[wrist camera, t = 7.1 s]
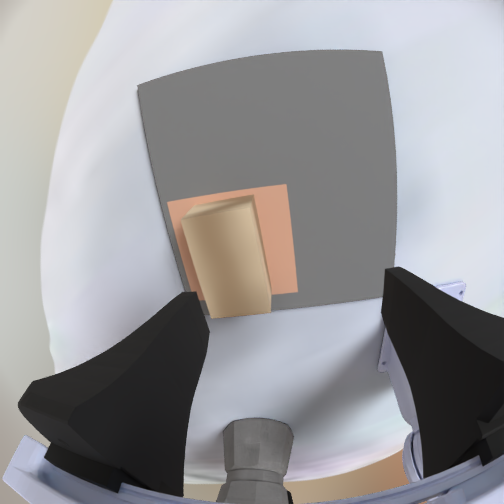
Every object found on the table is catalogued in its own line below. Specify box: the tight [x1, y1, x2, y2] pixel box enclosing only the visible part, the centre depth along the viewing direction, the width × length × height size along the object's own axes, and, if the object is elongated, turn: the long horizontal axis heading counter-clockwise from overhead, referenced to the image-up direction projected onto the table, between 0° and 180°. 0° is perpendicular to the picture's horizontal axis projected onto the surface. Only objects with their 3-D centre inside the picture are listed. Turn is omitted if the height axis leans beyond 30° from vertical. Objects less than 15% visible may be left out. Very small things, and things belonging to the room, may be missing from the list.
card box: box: [181, 194, 272, 319], centre depth 18 cm, size 4×7×3 cm, turn 11°
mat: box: [137, 50, 397, 315], centre depth 18 cm, size 18×16×1 cm
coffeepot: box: [216, 418, 294, 504], centre depth 23 cm, size 15×9×18 cm, turn 41°
